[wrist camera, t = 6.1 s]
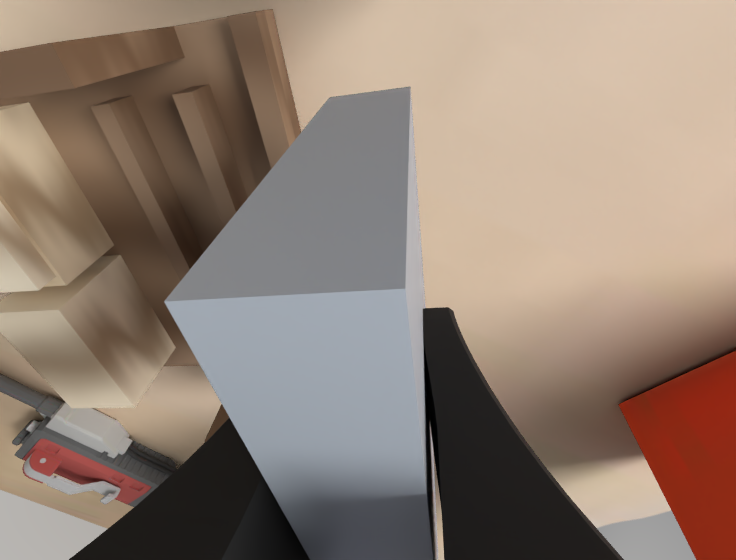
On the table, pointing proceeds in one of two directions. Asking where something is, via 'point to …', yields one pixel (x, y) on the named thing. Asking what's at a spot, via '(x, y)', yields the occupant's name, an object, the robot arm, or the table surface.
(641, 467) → the table surface
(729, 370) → the file binder
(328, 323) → the grey rectangular slab
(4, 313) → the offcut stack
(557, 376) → the table surface
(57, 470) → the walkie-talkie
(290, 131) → the walnut rack
